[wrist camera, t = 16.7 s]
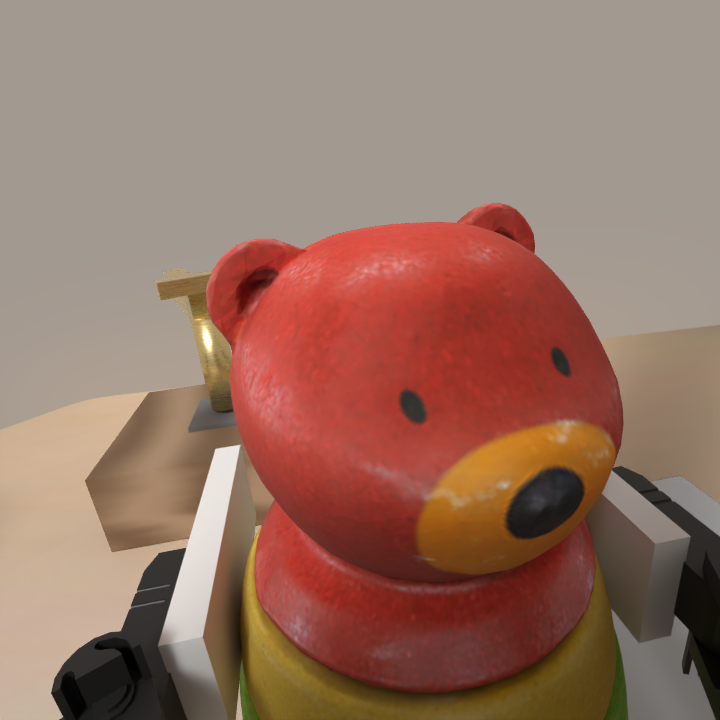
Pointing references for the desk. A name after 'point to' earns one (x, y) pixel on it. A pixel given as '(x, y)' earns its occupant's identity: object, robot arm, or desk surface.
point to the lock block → (165, 469)
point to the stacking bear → (421, 476)
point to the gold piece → (201, 331)
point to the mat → (667, 640)
